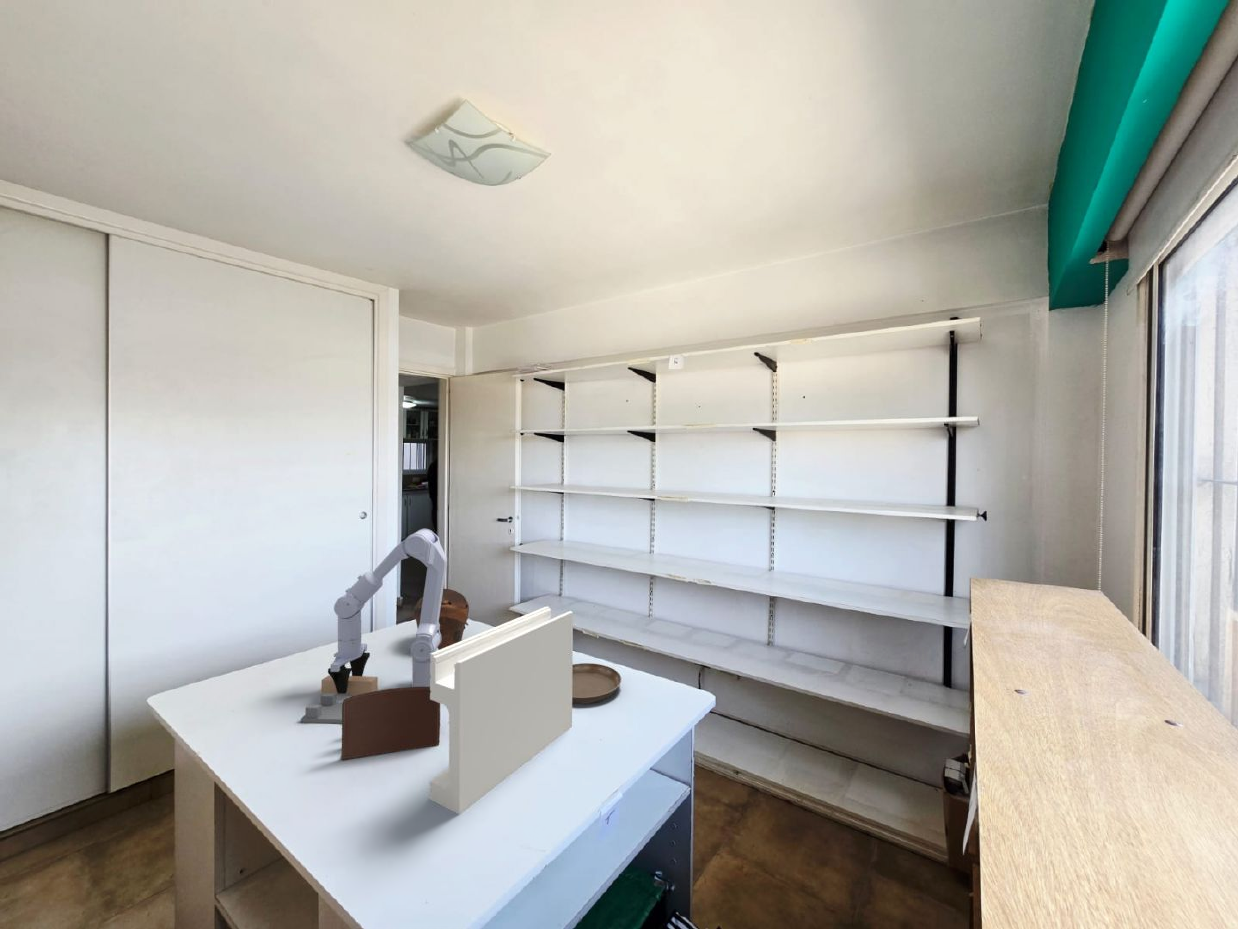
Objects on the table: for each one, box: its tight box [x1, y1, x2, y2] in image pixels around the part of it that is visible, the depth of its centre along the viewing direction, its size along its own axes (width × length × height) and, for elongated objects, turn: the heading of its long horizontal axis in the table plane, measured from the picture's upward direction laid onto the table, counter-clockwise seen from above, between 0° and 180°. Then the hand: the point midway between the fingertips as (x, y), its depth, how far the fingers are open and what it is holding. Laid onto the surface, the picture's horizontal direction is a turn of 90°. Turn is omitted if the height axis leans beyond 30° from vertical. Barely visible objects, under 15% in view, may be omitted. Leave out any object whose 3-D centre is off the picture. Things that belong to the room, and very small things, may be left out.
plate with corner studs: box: [300, 693, 343, 725], centre depth 127 cm, size 16×8×4 cm, turn 88°
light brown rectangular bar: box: [321, 674, 379, 696], centre depth 140 cm, size 14×3×4 cm, turn 88°
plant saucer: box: [572, 662, 622, 705], centre depth 143 cm, size 21×21×3 cm
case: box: [411, 588, 470, 650], centre depth 172 cm, size 18×20×18 cm
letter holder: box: [341, 686, 441, 761], centre depth 116 cm, size 10×20×14 cm, turn 108°
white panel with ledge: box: [429, 606, 574, 815], centre depth 110 cm, size 35×8×28 cm, turn 150°
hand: (349, 686), depth 140 cm, fingers open, 7 cm apart
